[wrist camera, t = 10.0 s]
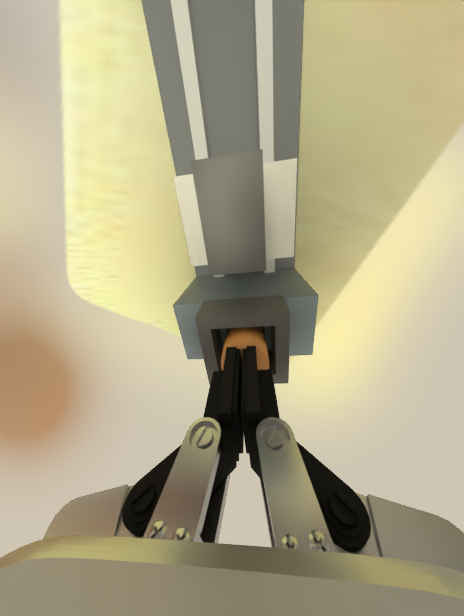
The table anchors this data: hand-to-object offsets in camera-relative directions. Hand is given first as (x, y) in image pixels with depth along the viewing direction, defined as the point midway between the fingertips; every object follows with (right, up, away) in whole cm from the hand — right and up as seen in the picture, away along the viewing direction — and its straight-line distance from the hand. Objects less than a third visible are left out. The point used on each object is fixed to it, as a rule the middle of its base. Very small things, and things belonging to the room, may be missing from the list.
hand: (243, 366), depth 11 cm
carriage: (0, +11, +5) cm, 12 cm away
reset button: (0, +1, +3) cm, 3 cm away
